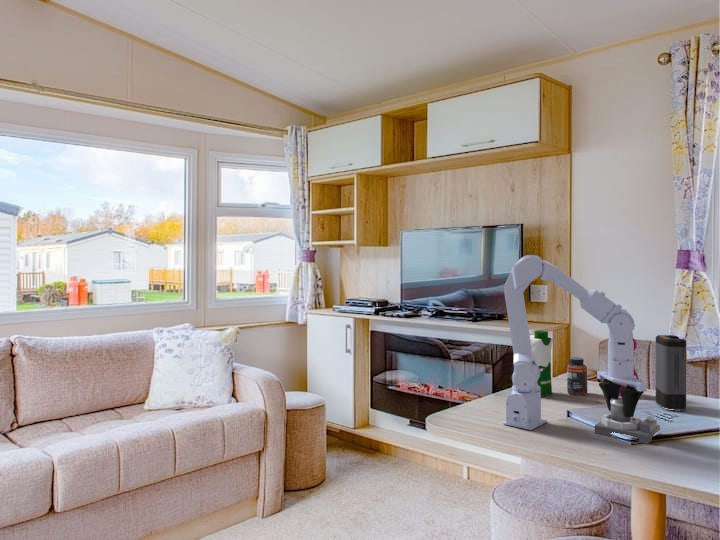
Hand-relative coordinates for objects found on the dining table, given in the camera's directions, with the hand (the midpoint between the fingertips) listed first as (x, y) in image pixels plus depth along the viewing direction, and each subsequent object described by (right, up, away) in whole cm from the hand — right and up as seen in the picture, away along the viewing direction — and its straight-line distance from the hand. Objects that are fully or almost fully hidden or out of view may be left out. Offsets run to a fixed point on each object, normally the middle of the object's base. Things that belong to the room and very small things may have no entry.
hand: (620, 413), depth 137 cm
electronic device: (+24, -4, +21) cm, 32 cm away
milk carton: (-9, -4, +39) cm, 40 cm away
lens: (0, -3, 0) cm, 3 cm away
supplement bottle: (+4, -4, +38) cm, 38 cm away
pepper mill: (+18, -4, +35) cm, 40 cm away
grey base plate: (+1, -5, -1) cm, 5 cm away
